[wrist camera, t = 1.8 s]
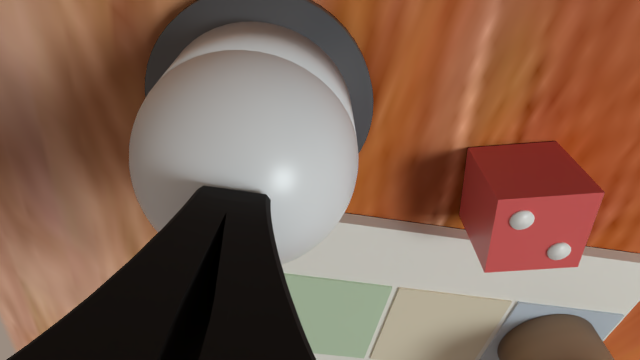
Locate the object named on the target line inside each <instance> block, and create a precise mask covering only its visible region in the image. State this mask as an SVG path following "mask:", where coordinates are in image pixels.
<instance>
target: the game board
mask: <svg viewBox="0 0 640 360" xmlns="http://www.w3.org/2000/svg"><path fill="white" fill-rule="evenodd" d="M282 268H283V272H284V275H285V279H286V282H287V285H288V288H289V291H290V294H291V297H292V300H293V303H294V306H295V308H296V311H297V314H298V317H299V319H300V322H301V325H302V327H303V330H304V332H305V335H306V337H307V340H308V342H309V344H310V347H311V349H312V351H313V354H314V356H315V358H316V360H499V357H498V354H497V350H498V346H499V343H500V341H501V340H502V338H503V337H504V336H505V335H506V334H507V333H508V332H509V331H511V330H512V329H513V328H515V327H516V326H518V325H520V324H522V323H524V322H526V321H529V320H531V319H534V318H538V317H541V316H546V315H553V314H569V315H575V316H579V317H582V318H584V319H586V320H587V321H589V322H590V323H591V324H592V326H593V327H594V329H595V330H596V332H597V333H598V335H599V336H600V338H601V340H602V341H604V340H605V339H606V338H607V336H608V335H609V334H610V333H611V332H612V331H613V330H614V329H615V328H616V326H617V325H618V324H619V323H620V322H621V321H622V320H623V319H624V317H625V316H626V315H627V314H628V313H629V312H630V311H631V310H632V309H633V307H634V306H635V305H636V304H637V303H638V302H639V301H640V254H638V253H631V252H623V251H616V250H609V249H602V248H594V247H587V246H585V249H584V251H583V254H582V257H581V260H580V262H579V265H578V267H569V268H553V269H538V270H522V271H506V272H490V273H484V271H483V268H482V266H481V264H480V262H479V259H478V257H477V255H476V252H475V250H474V248H473V246H472V243H471V241H470V239H469V236H468V234H467V232H466V230H464V229H457V228H449V227H442V226H435V225H428V224H420V223H413V222H406V221H399V220H391V219H384V218H377V217H370V216H362V215H355V214H348V213H344V214H343V216H342V218H341V219H340V221H339V222H338V223H337V225H336V226H335V227H334V229H333V230H332V231H331V232H330V234H329V235H328V236H327V237H326V238H325V239H324V240H323V241H322V242H320V243H319V244H318V245H317V246H315V247H314V248H313V249H311V250H310V251H309V252H307V253H306V254H304V255H302V256H300V257H299V258H297V259H295V260H292V261H290V262H288V263H285V264H282Z"/></svg>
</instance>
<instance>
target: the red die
mask: <svg viewBox="0 0 640 360" xmlns="http://www.w3.org/2000/svg"><path fill="white" fill-rule="evenodd" d="M604 193H605V192H604V191H603V190H602V189H601V188H600V187H599V186H598V185H597V184H596V183H595V182H594V181H593V180H592V178H591V177H590V176H589V175H588V174H587V173H586V172H585V171H584V170H583V169H582V168H581V167H580V166H579V165H578V164H577V163H576V162H575V161H574V159H573V158H572V157H571V156H570V155H569V154H568V153H567V152H566V151H565V150H564V149H563V148H562V147H561V146H560V145H559V144H558V143H557V142H556V141H551V142H538V143H524V144H511V145H498V146H484V147H471V148H468V150H467V158H466V166H465V174H464V181H463V189H462V197H461V205H460V212H459V216H460V218H461V220H462V223H463V225H464V227H465V230H466V232H467V234H468V236H469V239H470V241H471V243H472V246H473V248H474V250H475V252H476V255H477V257H478V259H479V262H480V264H481V266H482V268H483V271H484V273H490V272H506V271H522V270H538V269H553V268H569V267H578V265H579V262H580V260H581V257H582V254H583V251H584V249H585V246H586V243H587V240H588V237H589V235H590V232H591V229H592V226H593V224H594V221H595V218H596V215H597V212H598V210H599V207H600V204H601V201H602V199H603V196H604Z"/></svg>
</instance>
